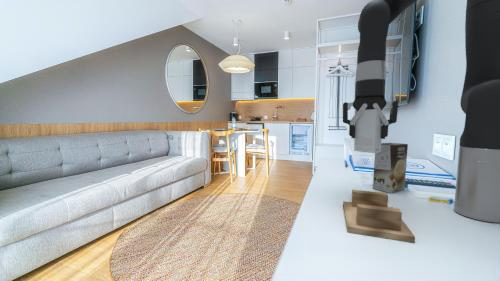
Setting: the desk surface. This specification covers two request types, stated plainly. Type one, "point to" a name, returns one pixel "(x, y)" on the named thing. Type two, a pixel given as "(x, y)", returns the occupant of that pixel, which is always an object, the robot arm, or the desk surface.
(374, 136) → the skincare box
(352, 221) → the oak cradle board
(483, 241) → the desk surface
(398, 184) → the coffee box
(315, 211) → the desk surface
